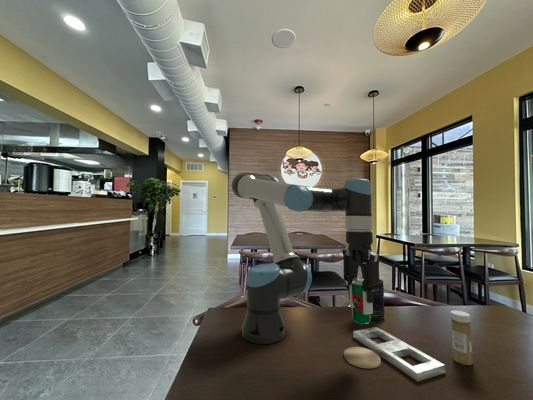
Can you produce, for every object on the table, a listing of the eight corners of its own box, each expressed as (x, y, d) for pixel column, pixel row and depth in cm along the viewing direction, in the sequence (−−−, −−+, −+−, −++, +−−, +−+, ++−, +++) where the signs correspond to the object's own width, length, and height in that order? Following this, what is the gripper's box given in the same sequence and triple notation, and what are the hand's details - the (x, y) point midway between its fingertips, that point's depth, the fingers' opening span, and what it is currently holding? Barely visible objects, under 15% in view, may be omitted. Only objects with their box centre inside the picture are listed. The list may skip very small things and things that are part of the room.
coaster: (337, 352, 75) (337, 350, 75) (363, 346, 78) (363, 344, 78) (359, 372, 66) (359, 369, 66) (388, 364, 69) (388, 362, 69)
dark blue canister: (389, 322, 96) (388, 283, 97) (364, 322, 96) (363, 283, 97) (378, 312, 106) (377, 277, 107) (355, 312, 106) (354, 277, 107)
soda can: (372, 325, 70) (371, 282, 70) (353, 324, 71) (352, 281, 71) (368, 318, 75) (367, 277, 75) (351, 317, 76) (350, 277, 76)
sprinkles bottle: (477, 364, 69) (474, 315, 70) (464, 366, 68) (461, 316, 69) (460, 355, 73) (458, 309, 74) (448, 357, 72) (446, 310, 73)
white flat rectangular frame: (353, 337, 84) (353, 331, 85) (376, 332, 88) (376, 326, 88) (417, 381, 62) (417, 373, 62) (445, 372, 65) (445, 364, 65)
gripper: (393, 232, 67) (396, 320, 66) (349, 228, 84) (351, 299, 83) (371, 232, 65) (374, 324, 63) (330, 229, 82) (332, 301, 80)
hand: (361, 309), depth 73 cm, fingers closed on soda can, 5 cm apart
